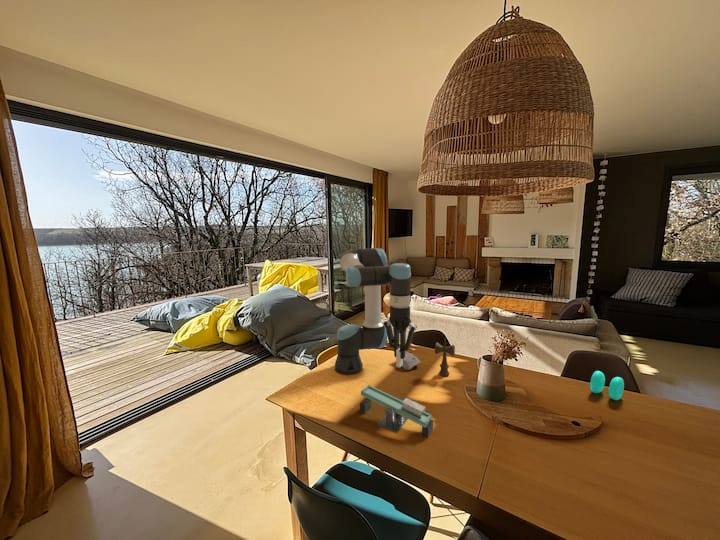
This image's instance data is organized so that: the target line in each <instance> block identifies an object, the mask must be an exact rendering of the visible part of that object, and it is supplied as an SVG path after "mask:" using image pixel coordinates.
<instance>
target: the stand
mask: <svg viewBox="0 0 720 540" xmlns="http://www.w3.org/2000/svg"><path fill="white" fill-rule="evenodd" d="M395 398H397V399H399V400H401V401H404V398H403V399H402V398H400V397H397V396H396V397H395ZM385 408H386V407H385ZM370 409H372V400H370V399H368V398H366V397H364V399H363V400H362V401H361V402H360V403H359V412H360V413H361V414H364V415H365V414H367V412H369V410H370ZM407 421H408V419H407V418H405V417H403V416H401V415H399V414H397V413H395V412H394V410H392V409H389V408H386V409H385V415H384V416H383V417H382V418H381V419H380V421H378V423H377V427H379V428H382V429H385V431H386V430H387V431H389V432H392V433H394V434H398V433H399V432H400V430H401V429H402V427H403V426H404V425H405V423H406V422H407ZM433 431H434V420H433V419H431V420H430V421H429V423H428V425H427V426H426V428H425V427H423V426H421V436H423V437H424V438H425V437H426V438H430V435H432V434H431V433H432V432H433Z"/></svg>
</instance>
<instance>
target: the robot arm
mask: <svg viewBox="0 0 720 540" xmlns="http://www.w3.org/2000/svg"><path fill="white" fill-rule="evenodd" d="M386 254H387V253H386V252H385V250H384V249H383V248H379V247H378V248H377V247H372V248H371V247H370V248H352V249H349V250H347V251H345V252H344V253H342V255H341V257H340V259H339V265H340V268H341V270H343V271H344V272H345V281H346V285H347V286H348V287H349V288H350V287H351V288H353V287H355V288H359V287H364V316H365V317H364V319H365V320H364V322H363V323H362V326H361V327H360V326H359V325H358V324H346V325H342V326H340V327H339V328H338V329H337V332H336V339H337V341H336V343H337V344H336V345H337V357H336V360H335V363H334V371H335V372H336V373H337V374H340V375H345V376H352V375H356V374H359V373H361V372H362V371H363V369H364V368H363V361H362V359H361V356H360V351H361V350H371V349H374V350H377V349H382V348H384V347H386V345H387V342H388V344H389V345H388V346H389V347H390V348H392V349H393V352H394V353H393V356H394V358H396V360H395V362H396V363H395V364H396V365H395V367H396V368H401V367H402V365H403V359H404V358H405V352H408V350H409V349H410V348H411V345H412V341H413V337H414V333H415V331H416V329H417V328H418V326H417V325H415V324H413V323H412V319H411V306H410V305H411V284H412V283H411V279H412V278H411V277H412V272H411V271H412V270H411V265H410V264H409V263H402V262H400V263H392V264H388V259H387V258H388V257H387V255H386ZM382 286H389V304H390V306H389V318H388V319H387V320H385V321H384V322H383V321H382ZM407 330H409V331H408V333H407ZM406 333H407V335H406Z"/></svg>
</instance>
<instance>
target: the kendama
mask: <svg viewBox="0 0 720 540" xmlns="http://www.w3.org/2000/svg"><path fill="white" fill-rule="evenodd" d="M443 341H444V342H443V345H442V344H441V343H439V342H435V343H434V345H435V346H434V354H435V355H438V354H440V353H443V354H442V359H441V363H440V364H439V367H440V370H439V371H438V374H439V376H443V377H448V376H449V375H450V372H449V368H450V365H449V364H448V360H447V359H448V358H447V354H449V355H450V356H451V357H454V356H455V352H456V346H455V344H452V345H449V346H447V338H446V337H444V340H443Z"/></svg>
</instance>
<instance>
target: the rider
mask: <svg viewBox="0 0 720 540" xmlns="http://www.w3.org/2000/svg"><path fill="white" fill-rule="evenodd" d="M401 410H403V411H405V412H407V413H409V414H411V415H413V416H415V417H417V418H419V419H422V417H423V416H424V413H425V412H426V406H424V405H422V404H420V403H418V402H417V401H415V400H411V399H409V398H407V397H405V398H404V399H403V402H402V408H401Z"/></svg>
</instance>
